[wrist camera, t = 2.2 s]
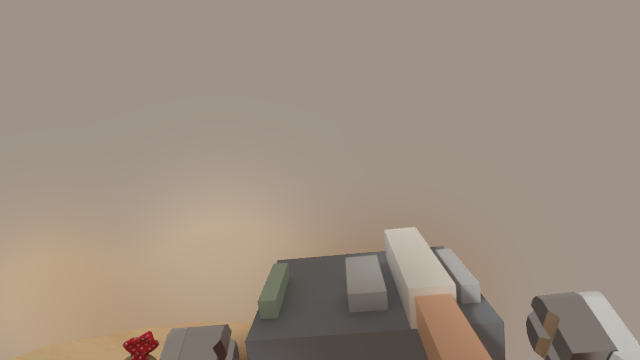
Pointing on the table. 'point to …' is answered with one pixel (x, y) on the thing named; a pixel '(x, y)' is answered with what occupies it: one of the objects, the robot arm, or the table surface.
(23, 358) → the table surface
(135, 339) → the bird rattle
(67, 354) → the table surface
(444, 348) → the lever bar
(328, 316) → the cabinet
